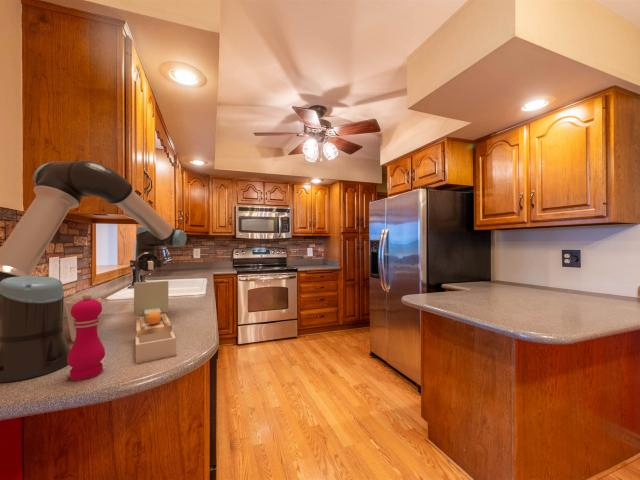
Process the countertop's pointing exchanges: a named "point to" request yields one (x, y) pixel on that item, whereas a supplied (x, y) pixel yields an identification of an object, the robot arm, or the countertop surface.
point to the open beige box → (155, 346)
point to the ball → (153, 318)
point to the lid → (150, 297)
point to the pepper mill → (86, 340)
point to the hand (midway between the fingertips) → (151, 265)
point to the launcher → (147, 328)
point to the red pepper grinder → (70, 319)
